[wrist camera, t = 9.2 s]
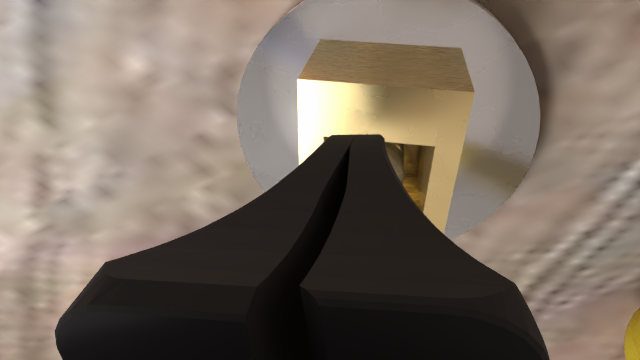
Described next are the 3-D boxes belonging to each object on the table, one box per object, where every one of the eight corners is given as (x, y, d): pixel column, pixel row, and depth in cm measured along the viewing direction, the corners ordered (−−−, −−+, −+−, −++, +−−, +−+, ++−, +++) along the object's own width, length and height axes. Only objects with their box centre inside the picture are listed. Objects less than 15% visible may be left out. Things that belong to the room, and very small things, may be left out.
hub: (215, 177, 22) (181, 229, 19) (298, -87, 15) (267, -78, 12) (434, 269, 23) (438, 334, 19) (606, 62, 16) (657, 108, 13)
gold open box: (318, 194, 20) (300, 255, 17) (320, 39, 16) (297, 79, 13) (431, 206, 19) (435, 273, 16) (461, 47, 16) (474, 92, 12)
